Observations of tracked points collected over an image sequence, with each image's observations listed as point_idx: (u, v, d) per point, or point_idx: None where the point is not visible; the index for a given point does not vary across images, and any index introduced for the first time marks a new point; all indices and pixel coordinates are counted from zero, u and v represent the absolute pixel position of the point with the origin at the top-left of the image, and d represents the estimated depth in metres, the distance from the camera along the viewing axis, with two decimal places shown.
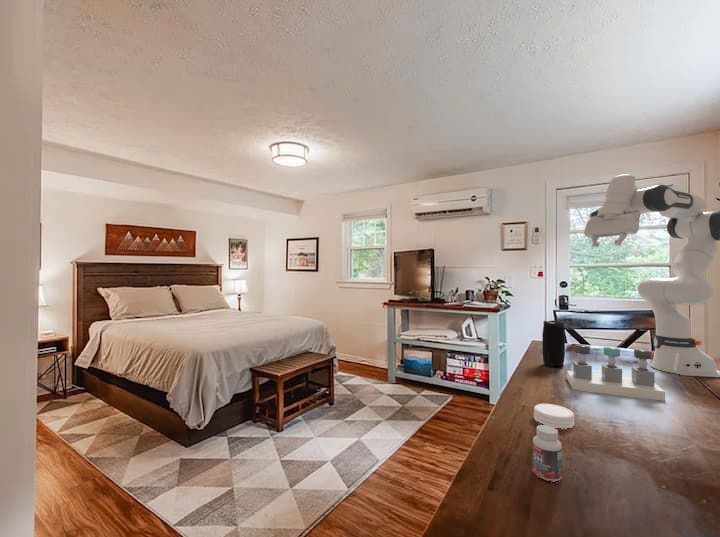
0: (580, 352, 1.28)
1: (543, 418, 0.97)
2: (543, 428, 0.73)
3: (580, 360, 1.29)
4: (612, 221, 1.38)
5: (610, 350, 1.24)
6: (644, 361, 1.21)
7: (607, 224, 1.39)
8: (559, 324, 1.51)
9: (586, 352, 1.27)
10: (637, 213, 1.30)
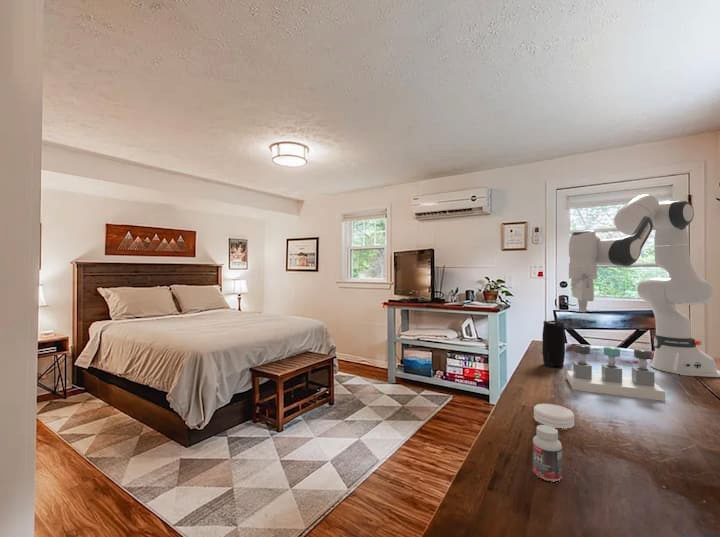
0: (580, 352, 1.28)
1: (543, 418, 0.97)
2: (543, 428, 0.73)
3: (580, 360, 1.29)
4: (578, 285, 1.29)
5: (610, 350, 1.24)
6: (644, 361, 1.21)
7: (577, 288, 1.30)
8: (559, 324, 1.51)
9: (586, 352, 1.27)
10: (586, 279, 1.21)
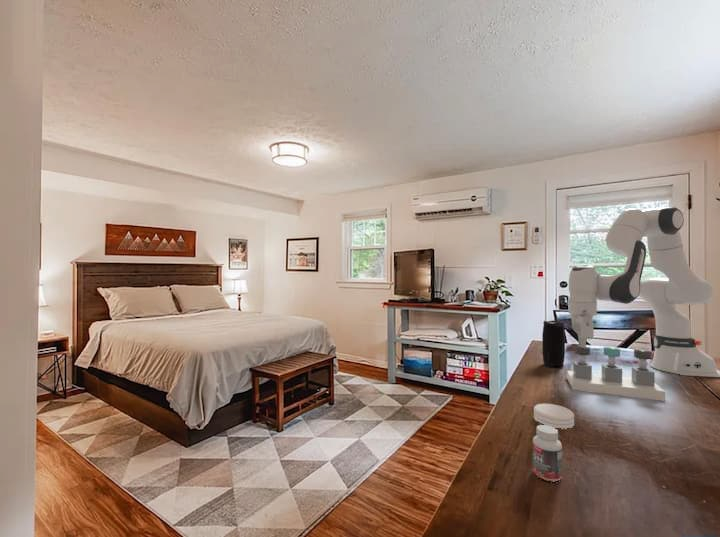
0: (580, 353, 1.28)
1: (543, 418, 0.97)
2: (543, 428, 0.73)
3: (580, 361, 1.29)
4: (578, 321, 1.29)
5: (610, 350, 1.24)
6: (644, 361, 1.21)
7: (576, 323, 1.30)
8: (559, 324, 1.51)
9: (586, 353, 1.27)
10: (586, 317, 1.21)
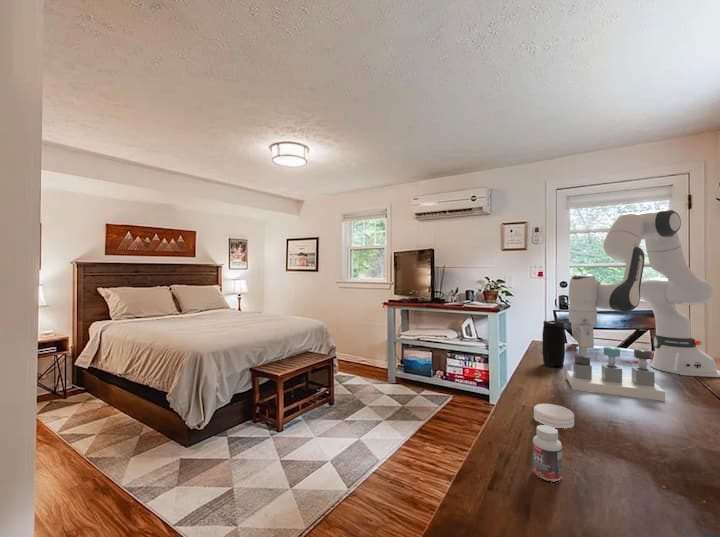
0: (580, 363, 1.28)
1: (543, 418, 0.97)
2: (543, 428, 0.73)
3: None
4: (578, 330, 1.29)
5: (610, 350, 1.24)
6: (644, 361, 1.21)
7: (577, 332, 1.30)
8: (559, 324, 1.51)
9: (586, 363, 1.27)
10: (586, 327, 1.21)
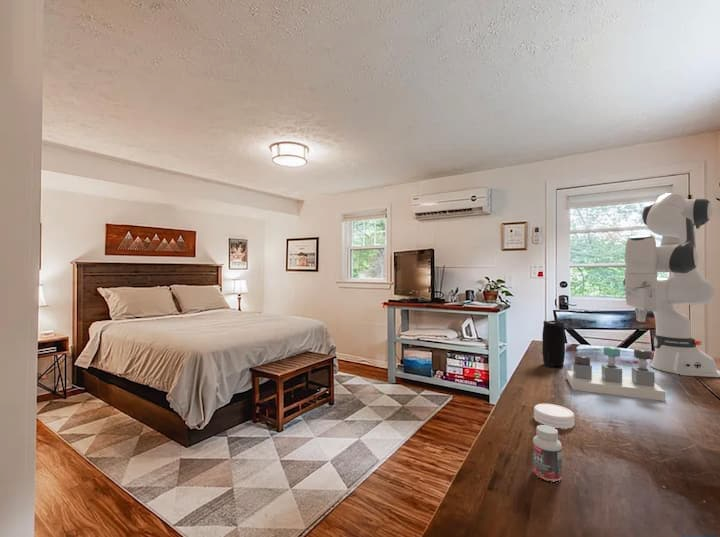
0: (580, 363, 1.28)
1: (543, 418, 0.97)
2: (543, 428, 0.73)
3: None
4: (636, 294, 1.22)
5: (610, 350, 1.24)
6: (644, 361, 1.21)
7: (634, 296, 1.23)
8: (559, 324, 1.51)
9: (586, 363, 1.27)
10: (648, 288, 1.14)
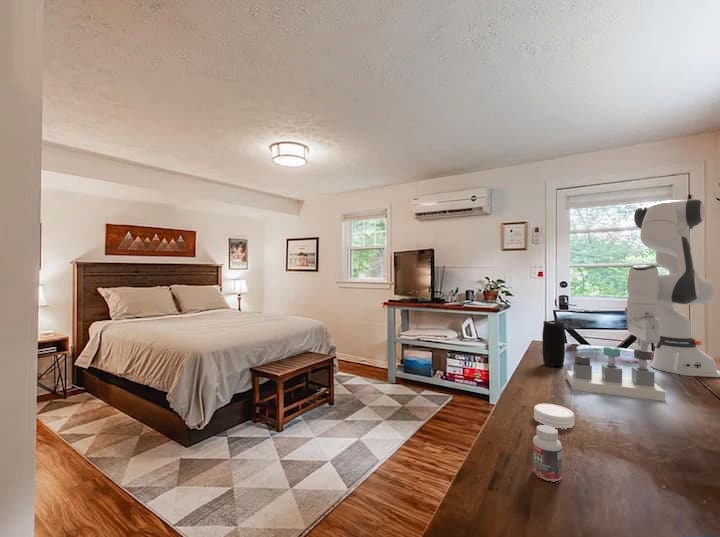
0: (580, 363, 1.28)
1: (543, 418, 0.97)
2: (543, 428, 0.73)
3: None
4: (638, 323, 1.22)
5: (610, 350, 1.24)
6: (644, 361, 1.21)
7: (636, 326, 1.23)
8: (559, 324, 1.51)
9: (586, 363, 1.27)
10: (651, 320, 1.14)
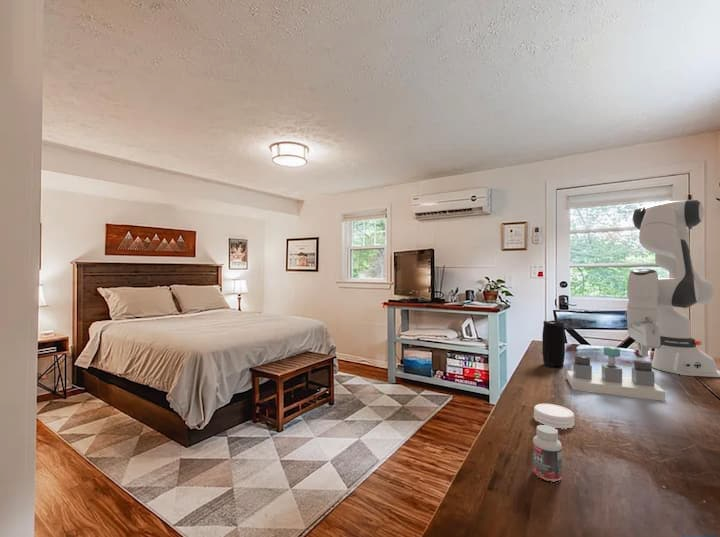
0: (580, 363, 1.28)
1: (543, 418, 0.97)
2: (543, 428, 0.73)
3: None
4: (639, 328, 1.22)
5: (610, 350, 1.24)
6: None
7: (637, 330, 1.23)
8: (559, 324, 1.51)
9: (586, 363, 1.27)
10: (651, 325, 1.14)
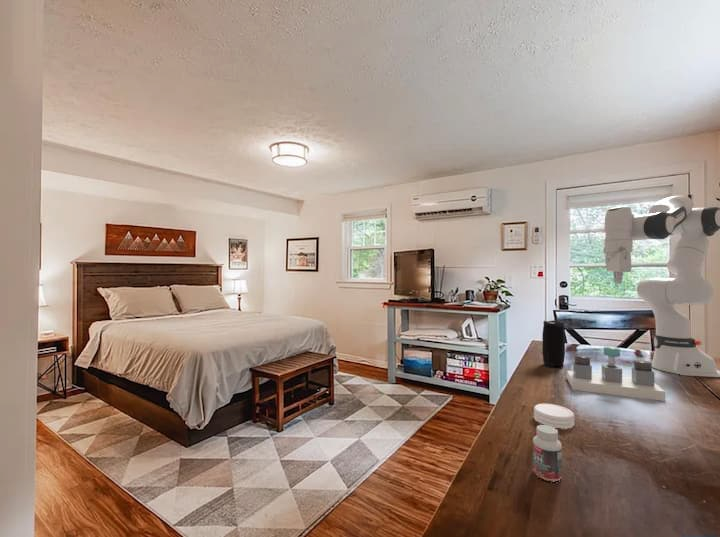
0: (580, 363, 1.28)
1: (542, 418, 0.97)
2: (543, 428, 0.73)
3: None
4: (614, 258, 1.36)
5: (610, 350, 1.24)
6: None
7: (612, 261, 1.37)
8: (559, 324, 1.51)
9: (586, 363, 1.27)
10: (624, 251, 1.28)
